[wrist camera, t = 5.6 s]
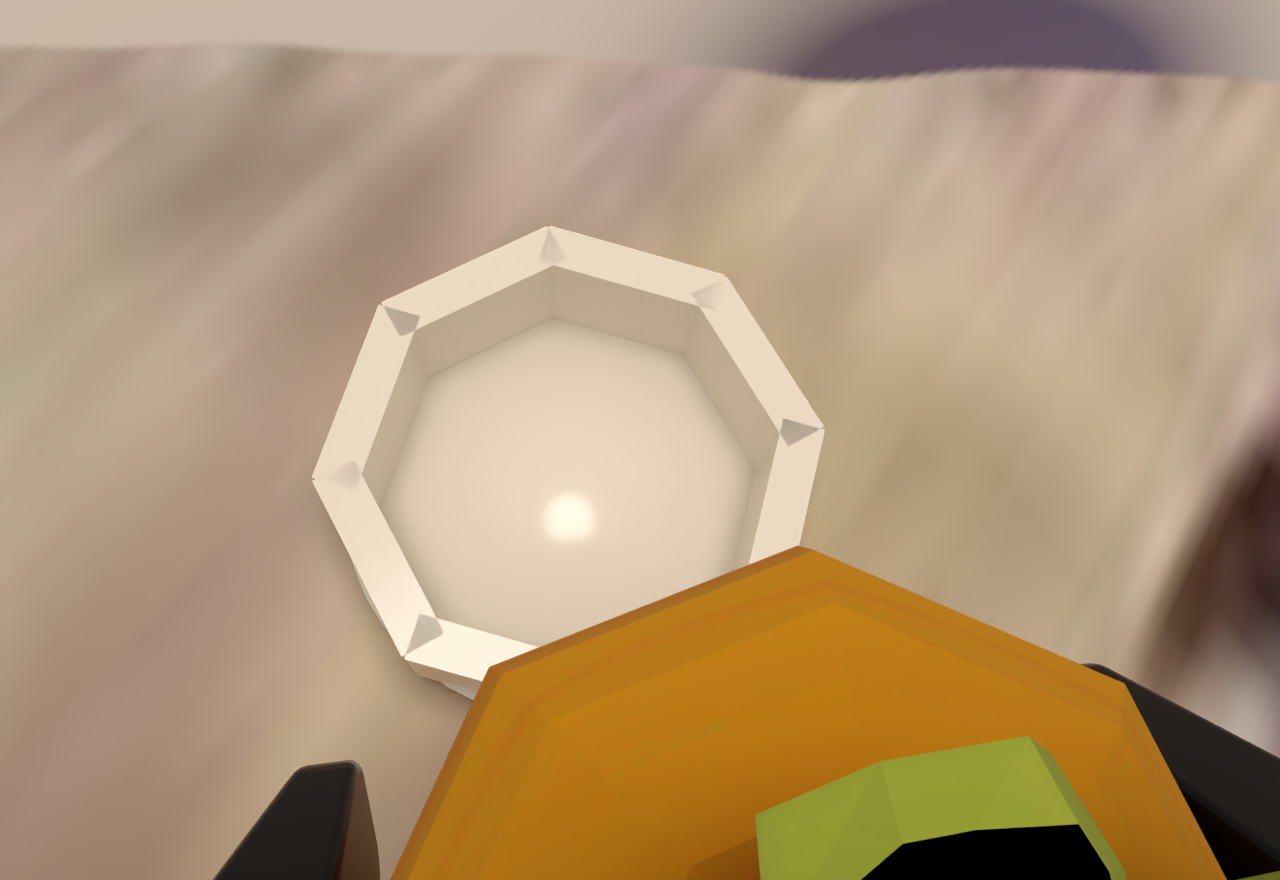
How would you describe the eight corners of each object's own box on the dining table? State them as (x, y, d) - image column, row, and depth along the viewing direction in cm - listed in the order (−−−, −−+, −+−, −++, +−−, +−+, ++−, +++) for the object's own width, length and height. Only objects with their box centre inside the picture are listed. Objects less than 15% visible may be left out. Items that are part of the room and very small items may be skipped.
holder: (868, 581, 22) (915, 548, 20) (476, 812, 20) (466, 813, 18) (649, 236, 25) (663, 161, 22) (274, 413, 23) (236, 357, 20)
